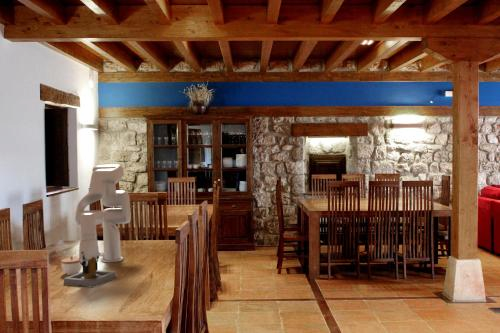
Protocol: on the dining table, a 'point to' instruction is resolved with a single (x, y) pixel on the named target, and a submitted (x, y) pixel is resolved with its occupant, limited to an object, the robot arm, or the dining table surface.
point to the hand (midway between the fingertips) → (90, 271)
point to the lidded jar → (71, 265)
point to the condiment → (91, 270)
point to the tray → (93, 282)
